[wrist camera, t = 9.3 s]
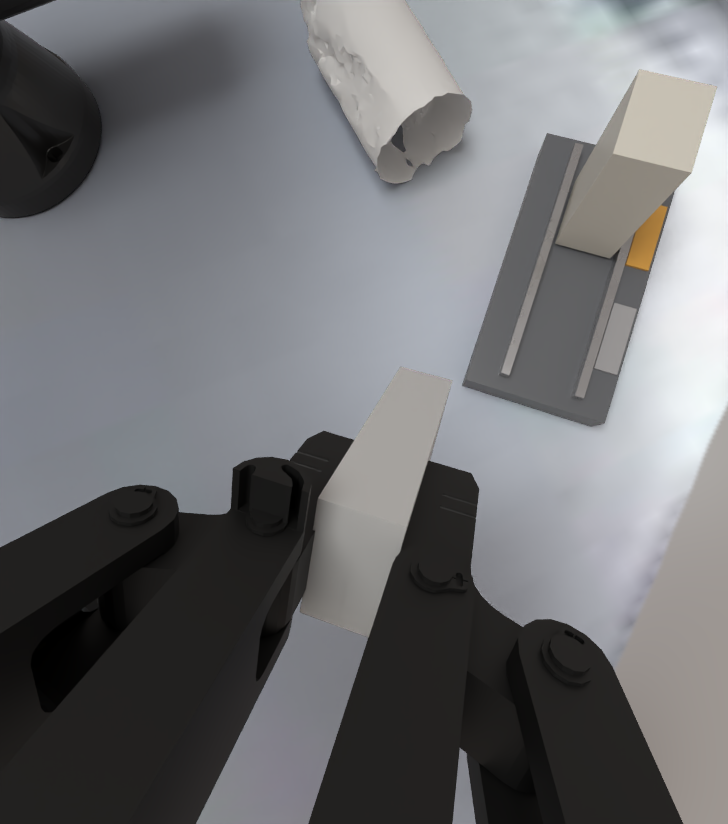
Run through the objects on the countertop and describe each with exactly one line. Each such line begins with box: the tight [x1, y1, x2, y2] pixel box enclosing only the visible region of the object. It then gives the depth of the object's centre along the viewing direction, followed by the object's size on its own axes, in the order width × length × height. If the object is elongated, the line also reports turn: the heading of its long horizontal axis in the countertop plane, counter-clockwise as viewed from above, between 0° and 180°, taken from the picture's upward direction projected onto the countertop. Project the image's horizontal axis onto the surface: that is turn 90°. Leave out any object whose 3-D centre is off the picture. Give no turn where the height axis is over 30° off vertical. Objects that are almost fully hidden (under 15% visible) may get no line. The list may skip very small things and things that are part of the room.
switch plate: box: [462, 133, 674, 426], centre depth 35 cm, size 20×10×4 cm, turn 161°
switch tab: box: [555, 69, 717, 258], centre depth 30 cm, size 5×4×10 cm
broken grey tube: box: [301, 0, 472, 184], centre depth 37 cm, size 8×19×8 cm, turn 27°
